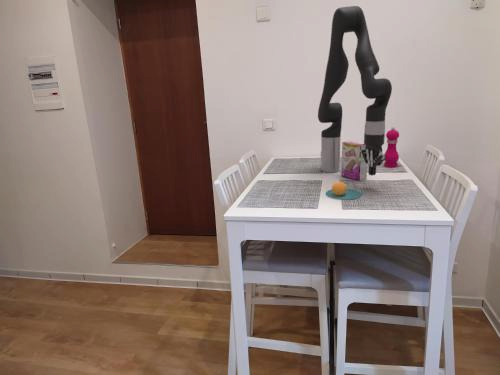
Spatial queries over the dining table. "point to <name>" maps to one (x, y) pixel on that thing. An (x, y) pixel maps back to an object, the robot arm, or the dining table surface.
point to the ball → (339, 188)
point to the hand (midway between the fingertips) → (372, 174)
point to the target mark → (347, 196)
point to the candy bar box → (353, 160)
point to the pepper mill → (391, 149)
